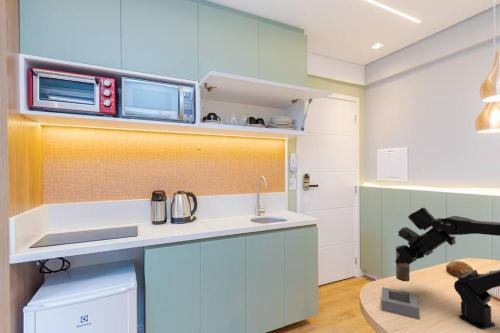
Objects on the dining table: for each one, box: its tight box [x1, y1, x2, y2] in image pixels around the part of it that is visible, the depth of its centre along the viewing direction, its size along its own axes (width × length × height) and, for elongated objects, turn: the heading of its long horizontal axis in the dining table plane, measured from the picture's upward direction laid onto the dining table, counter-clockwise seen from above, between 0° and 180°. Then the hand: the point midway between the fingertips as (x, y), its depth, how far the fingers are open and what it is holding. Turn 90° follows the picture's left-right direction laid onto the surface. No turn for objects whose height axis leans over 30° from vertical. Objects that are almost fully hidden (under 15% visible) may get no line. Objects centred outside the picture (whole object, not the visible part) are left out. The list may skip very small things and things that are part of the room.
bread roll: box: [445, 260, 475, 279], centre depth 115 cm, size 10×10×8 cm
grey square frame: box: [381, 286, 420, 320], centre depth 89 cm, size 11×11×4 cm
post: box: [395, 245, 410, 282], centre depth 98 cm, size 5×5×12 cm
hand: (398, 261), depth 100 cm, fingers closed on post, 4 cm apart
